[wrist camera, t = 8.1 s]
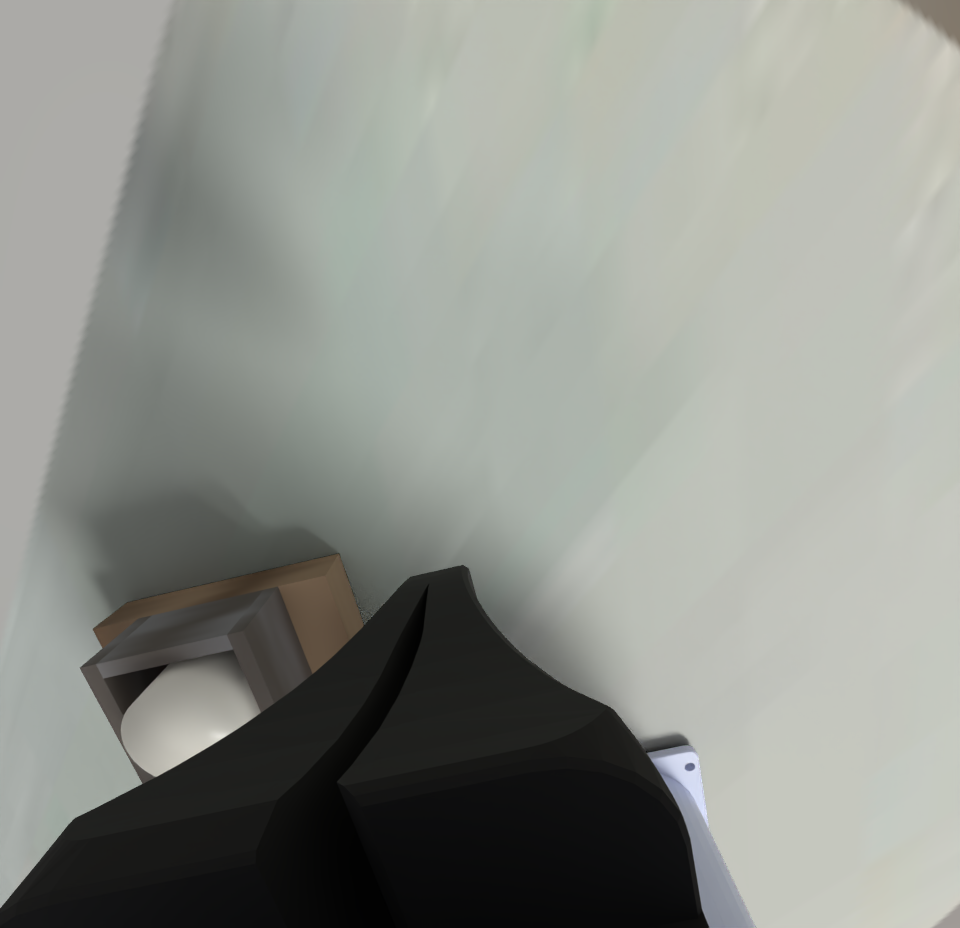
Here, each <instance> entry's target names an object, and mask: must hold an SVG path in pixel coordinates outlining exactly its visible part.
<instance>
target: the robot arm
mask: <svg viewBox="0 0 960 928" xmlns="http://www.w3.org/2000/svg"><path fill="white" fill-rule="evenodd" d="M688 763H689V764H688ZM0 928H756V926H755V924H754V922H753V920H752V918H751V916H750V913H749V911H748V909H747V907H746V905H745V903H744V901H743V899H742V897H741V895H740V893H739V891H738V888H737V886H736V884H735V882H734V880H733V878H732V876H731V874H730V872H729V870H728V868H727V866H726V863H725V861H724V859H723V857H722V855H721V853H720V851H719V849H718V847H717V845H716V843H715V841H714V838H713V836H712V834H711V832H710V830H709V825H708V818H707V811H706V805H705V798H704V791H703V785H702V778H701V771H700V765H699V758H698V755H697V753H696V751H695V749H694V748H693V747H692V746H689V745H684V746H679V747H674V748H669V749H664V750H659V751H654V752H649V753H646V752H645V750H644V749H643V748H642V746H641V745H640V743H639V742H638V741H637V739H636V738H635V736H634V735H633V734H632V733H631V731H630V730H629V729H628V727H627V726H626V725H625V723H624V722H623V721H622V720H621V718H620V717H619V716H618V715H617V713H616V712H615V711H614V710H613V709H612V708H610V707H608V706H607V705H604V704H602V703H600V702H598V701H596V700H594V699H591V698H589V697H587V696H585V695H583V694H580V693H578V692H576V691H574V690H572V689H570V688H568V687H567V686H565V685H563V684H562V683H560V682H558V681H557V680H555V679H554V678H552V677H551V676H550V675H548V674H547V673H546V672H544V671H543V670H542V669H540V668H539V667H538V666H536V665H535V664H534V663H532V662H531V661H530V660H528V659H527V658H526V657H525V656H524V655H523V654H522V653H520V652H519V651H518V650H517V649H516V648H515V647H514V646H513V645H512V644H511V643H510V642H509V641H508V640H507V639H506V638H505V637H504V636H503V634H502V633H501V632H500V631H499V630H498V629H497V627H496V626H495V625H494V624H493V622H492V621H491V620H490V618H489V617H488V616H487V614H486V613H485V611H484V610H483V608H482V606H481V605H480V603H479V601H478V600H477V597H476V593H475V590H474V586H473V582H472V579H471V575H470V571H469V569H468V568H467V567H465V566H464V565H461V566H456V567H452V568H448V569H443V570H439V571H434V572H430V573H426V574H421V575H417V576H412V577H410V578H409V579H407V580H406V581H405V582H404V583H403V584H402V585H401V586H400V587H399V588H398V589H397V591H396V592H395V593H394V594H393V595H392V596H391V597H390V598H389V599H388V600H387V602H386V603H385V604H384V605H383V606H382V607H381V608H380V609H379V610H378V611H377V612H376V614H375V615H374V616H373V617H372V618H371V619H370V620H369V621H368V622H367V623H366V624H365V625H364V626H363V627H362V628H361V629H360V630H359V631H358V632H357V633H356V634H355V635H354V636H353V637H352V638H351V639H350V640H349V641H348V642H347V643H346V644H345V645H344V646H343V647H342V648H341V649H340V650H339V651H338V652H337V653H336V654H335V655H334V656H333V657H332V658H330V659H329V660H328V661H327V662H326V663H325V664H324V665H323V666H321V667H320V668H319V669H318V670H317V671H316V672H314V673H313V674H312V675H311V676H309V677H308V678H307V679H306V680H304V681H303V682H302V683H301V684H300V685H298V686H297V687H296V688H295V689H293V690H292V691H291V692H289V693H288V694H287V695H285V696H284V697H282V698H281V699H280V700H278V701H277V702H275V703H274V704H273V705H271V706H270V707H268V708H267V709H265V710H264V711H263V712H261V713H260V714H258V715H257V716H256V717H254V718H253V719H251V720H250V721H248V722H247V723H246V724H244V725H243V726H241V727H240V728H238V729H237V730H235V731H234V732H232V733H230V734H229V735H227V736H226V737H224V738H222V739H221V740H219V741H218V742H216V743H214V744H213V745H211V746H210V747H208V748H206V749H204V750H203V751H201V752H199V753H198V754H196V755H194V756H192V757H191V758H189V759H187V760H186V761H184V762H182V763H181V764H179V765H177V766H175V767H173V768H172V769H170V770H168V771H166V772H164V773H163V774H161V775H159V776H157V777H155V778H153V779H151V780H149V781H147V782H145V783H144V784H142V785H140V786H138V787H136V788H134V789H132V790H130V791H128V792H126V793H124V794H122V795H120V796H118V797H116V798H114V799H113V800H111V801H109V802H107V803H105V804H103V805H101V806H99V807H97V808H95V809H93V810H91V811H89V812H87V813H85V814H83V815H81V816H79V817H77V818H75V819H74V820H73V821H72V822H71V823H70V824H69V825H68V826H67V827H66V829H65V830H64V831H63V832H62V834H61V835H60V836H59V837H58V839H57V840H56V841H55V842H54V844H53V845H52V846H51V847H50V848H49V850H48V851H47V852H46V853H45V855H44V856H43V857H42V858H41V860H40V861H39V862H38V863H37V865H36V866H35V867H34V868H33V869H32V871H31V872H30V873H29V874H28V876H27V877H26V878H25V879H24V880H23V882H22V883H21V884H20V885H19V886H18V888H17V889H16V890H15V891H14V892H13V894H12V895H11V896H10V897H9V899H8V900H7V901H6V902H5V903H4V905H3V906H2V907H1V908H0Z"/></svg>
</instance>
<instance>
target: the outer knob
mask: <svg viewBox="0 0 960 928" xmlns="http://www.w3.org/2000/svg"><path fill="white" fill-rule="evenodd" d="M260 713H261V712H260V709H259V707H258V705H257V703H256V700H255V698H254V696H253V693H252V691H251V689H250V687H249V684H248V682H247V680H246V678H245V675H244V673H243V671H242V668H241V666H240V664H239V662H238V659H237V657H236V655H235V652H234V650H229V651H224V652H220V653H215V654H211V655H206V656H202V657H197V658H193V659H188V660H184V661H179V662H175V663H171V664H169V665H168V666H167V667H166V668H165V669H164V670H163V671H162V672H161V673H160V674H159V675H158V676H157V677H156V679H155V680H154V681H153V682H152V683H151V684H150V685H149V686H148V687H147V688H146V689H145V690H144V692H143V693H142V694H141V695H140V696H139V697H138V698H137V699H136V700H135V701H134V702H133V703H132V705H131V706H130V707H129V708H128V709H127V711H126V713H125V714H124V717H123V719H122V724H121V737H122V741H123V744H124V747H125V749H126V751H127V752H128V754H129V756H130V757H131V758H132V759H133V761H134V762H135V763H136V764H137V765H138V766H139V767H141V768H142V769H143V770H145V771H146V772H148V773H149V774H151V775H153V776H155V777H157V776H159V775H161V774H163V773H164V772H166V771H168V770H170V769H172V768H173V767H175V766H177V765H179V764H181V763H182V762H184V761H186V760H187V759H189V758H191V757H192V756H194V755H196V754H198V753H199V752H201V751H203V750H204V749H206V748H208V747H210V746H211V745H213V744H214V743H216V742H218V741H219V740H221V739H222V738H224V737H226V736H227V735H229V734H230V733H232V732H234V731H235V730H237V729H238V728H240V727H241V726H243V725H244V724H246V723H247V722H248V721H250V720H251V719H253V718H254V717H256V716H257V715H258V714H260Z"/></svg>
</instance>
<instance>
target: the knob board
mask: <svg viewBox="0 0 960 928" xmlns="http://www.w3.org/2000/svg"><path fill="white" fill-rule="evenodd" d="M363 626H364V624H363V621H362V618H361V615H360V612H359V609H358V606H357V604H356V601H355V598H354V595H353V592H352V589H351V586H350V583H349V581H348V578H347V575H346V572H345V569H344V566H343V563H342V561H341V558H340V555H339V554H335V555H330V556H326V557H322V558H317V559H313V560H309V561H305V562H300V563H296V564H292V565H287V566H283V567H279V568H274V569H270V570H266V571H261V572H257V573H253V574H248V575H244V576H240V577H235V578H231V579H227V580H222V581H218V582H214V583H210V584H205V585H201V586H197V587H192V588H188V589H184V590H179V591H175V592H171V593H166V594H162V595H158V596H153V597H149V598H145V599H140V600H136V601H132V602H127V603H126V604H124V605H123V606H122V607H121V608H119V609H118V610H117V611H115V612H114V613H113V614H111V615H110V616H109V617H108V618H106V619H105V620H104V621H102V622H101V623H100V624H98V625H97V626H96V627H95V628H93V631H94V633H95V635H96V636H97V638H98V640H99V642H100V644H101V646H102V648H103V649H102V650H100V651H99V652H98V653H97V654H96V655H95V656H93V657H92V658H91V659H90V660H89V661H87V662H86V663H85V664H84V665H83V666H82V667H80V669H81V671H82V673H83V675H84V677H85V679H86V680H87V682H88V684H89V686H90V688H91V690H92V691H93V693H94V695H95V697H96V699H97V701H98V702H99V704H100V706H101V708H102V710H103V712H104V713H105V715H106V717H107V719H108V721H109V723H110V724H111V726H112V728H113V730H114V732H115V734H116V735H117V737H118V739H119V741H120V743H121V745H122V747H123V748H124V750H125V752H126V754H127V756H128V758H129V759H130V761H131V763H132V765H133V767H134V769H135V770H136V772H137V774H138V776H139V778H140V780H141V781H142V783H143V784H144V783H145V782H147V781H149V780H151V779H153V778H155V776H153V775H151V774H149V773H148V772H146V771H145V770H143V769H142V768H141V767H139V766H138V765H137V764H136V763H135V762H134V761H133V759H132V758H131V757H130V756H129V754H128V752H127V751H126V749H125V747H124V744H123V741H122V737H121V724H122V719H123V717H124V714H125V713H126V711H127V709H128V708H129V707H130V706H131V705H132V703H133V702H134V701H135V700H136V699H137V698H138V697H139V696H140V695H141V694H142V693H143V692H144V690H145V689H146V688H147V687H148V686H149V685H150V684H151V683H152V682H153V681H154V680H155V679H156V677H157V676H158V675H159V674H160V673H161V672H162V671H163V670H164V669H165V668H166V667H167V666H168V665H169V664H171V663H175V662H179V661H184V660H188V659H193V658H197V657H202V656H206V655H211V654H215V653H220V652H224V651H229V650H234V652H235V655H236V657H237V659H238V662H239V664H240V666H241V668H242V671H243V673H244V675H245V678H246V680H247V682H248V684H249V687H250V689H251V691H252V693H253V696H254V698H255V700H256V703H257V705H258V707H259V709H260V712H263V711H264V710H265V709H267V708H268V707H270V706H271V705H273V704H274V703H275V702H277V701H278V700H280V699H281V698H282V697H284V696H285V695H287V694H288V693H289V692H291V691H292V690H293V689H295V688H296V687H297V686H298V685H300V684H301V683H302V682H303V681H304V680H306V679H307V678H308V677H309V676H311V675H312V674H313V673H314V672H316V671H317V670H318V669H319V668H320V667H321V666H323V665H324V664H325V663H326V662H327V661H328V660H329V659H330V658H332V657H333V656H334V655H335V654H336V653H337V652H338V651H339V650H340V649H341V648H342V647H343V646H344V645H345V644H346V643H347V642H348V641H349V640H350V639H351V638H352V637H353V636H354V635H355V634H356V633H357V632H358V631H359V630H360V629H361V628H362V627H363Z"/></svg>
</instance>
